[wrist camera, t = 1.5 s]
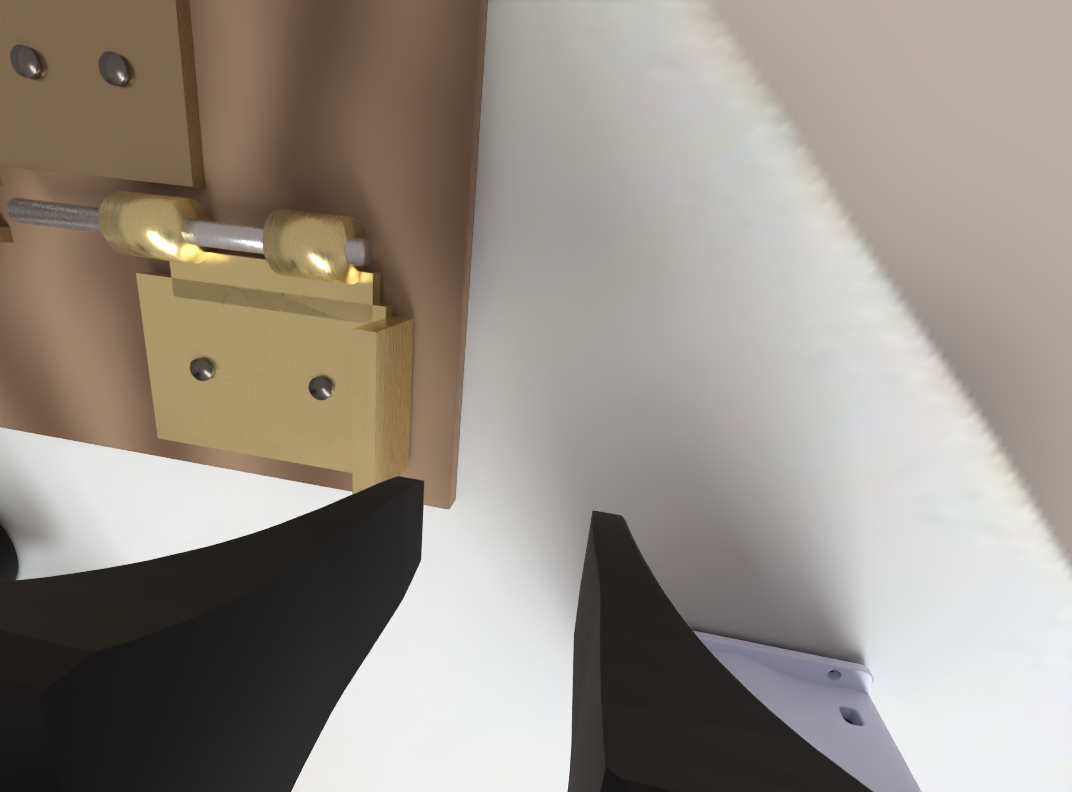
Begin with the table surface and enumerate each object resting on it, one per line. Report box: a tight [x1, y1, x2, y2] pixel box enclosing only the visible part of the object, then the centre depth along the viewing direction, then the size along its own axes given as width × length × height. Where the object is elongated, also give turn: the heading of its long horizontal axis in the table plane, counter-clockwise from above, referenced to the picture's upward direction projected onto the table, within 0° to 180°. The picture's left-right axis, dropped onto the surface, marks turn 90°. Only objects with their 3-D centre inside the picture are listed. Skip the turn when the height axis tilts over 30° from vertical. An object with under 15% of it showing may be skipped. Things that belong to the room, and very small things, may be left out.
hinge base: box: [0, 0, 206, 243], centre depth 17 cm, size 12×10×3 cm
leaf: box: [6, 191, 413, 494], centre depth 19 cm, size 15×10×3 cm, turn 84°
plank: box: [0, 0, 488, 509], centre depth 20 cm, size 25×20×1 cm
